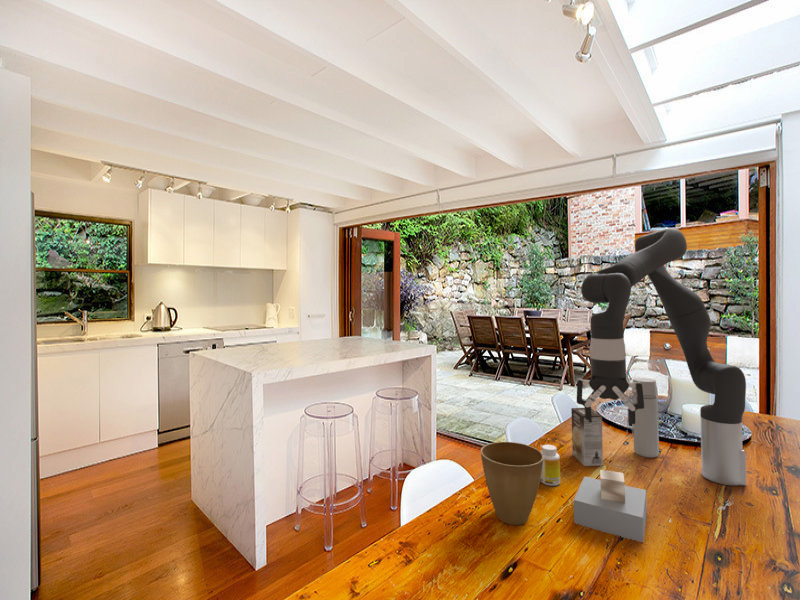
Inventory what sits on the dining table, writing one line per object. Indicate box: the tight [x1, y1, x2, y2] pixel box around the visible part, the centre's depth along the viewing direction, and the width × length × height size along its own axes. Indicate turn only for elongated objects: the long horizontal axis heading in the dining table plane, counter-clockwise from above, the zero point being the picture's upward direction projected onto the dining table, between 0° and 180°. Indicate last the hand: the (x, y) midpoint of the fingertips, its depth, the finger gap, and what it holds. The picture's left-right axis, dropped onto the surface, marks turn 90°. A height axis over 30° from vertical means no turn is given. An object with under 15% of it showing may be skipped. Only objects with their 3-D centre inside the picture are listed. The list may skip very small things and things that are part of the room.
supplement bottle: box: [540, 444, 561, 487], centre depth 113 cm, size 6×6×10 cm
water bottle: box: [626, 377, 660, 459], centre depth 130 cm, size 9×8×25 cm
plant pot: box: [480, 441, 544, 526], centre depth 96 cm, size 15×15×16 cm
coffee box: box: [570, 407, 604, 467], centre depth 126 cm, size 9×6×16 cm
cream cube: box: [599, 469, 626, 503], centre depth 93 cm, size 5×5×5 cm
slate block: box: [573, 476, 648, 543], centre depth 94 cm, size 14×14×6 cm
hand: (609, 423), depth 93 cm, fingers open, 8 cm apart
